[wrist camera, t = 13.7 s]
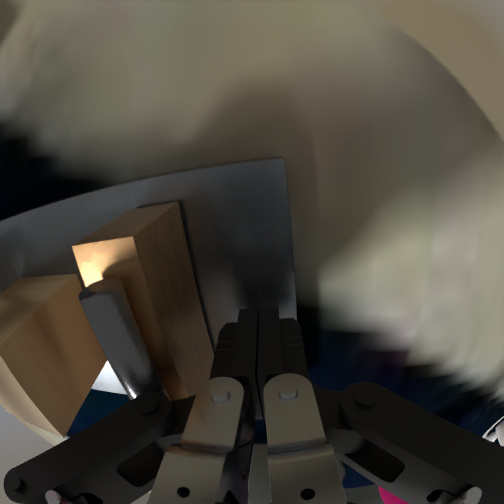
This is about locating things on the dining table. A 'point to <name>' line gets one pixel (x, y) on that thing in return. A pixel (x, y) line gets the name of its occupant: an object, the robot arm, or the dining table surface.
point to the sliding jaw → (146, 302)
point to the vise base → (196, 233)
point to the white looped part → (496, 433)
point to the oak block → (46, 351)
